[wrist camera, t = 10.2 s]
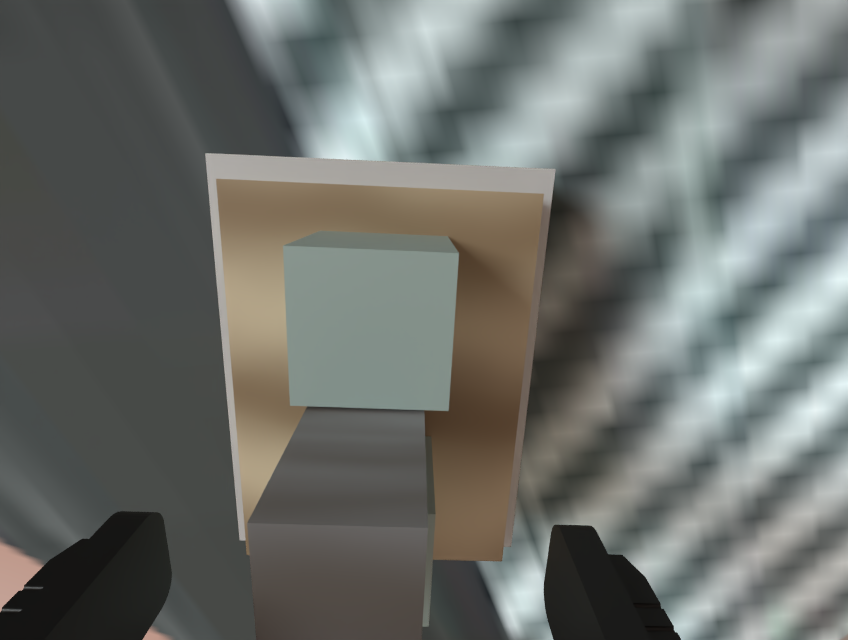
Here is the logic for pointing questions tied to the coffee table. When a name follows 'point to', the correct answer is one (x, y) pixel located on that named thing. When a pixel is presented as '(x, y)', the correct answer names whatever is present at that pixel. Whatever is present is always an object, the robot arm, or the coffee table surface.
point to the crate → (370, 320)
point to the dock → (390, 177)
